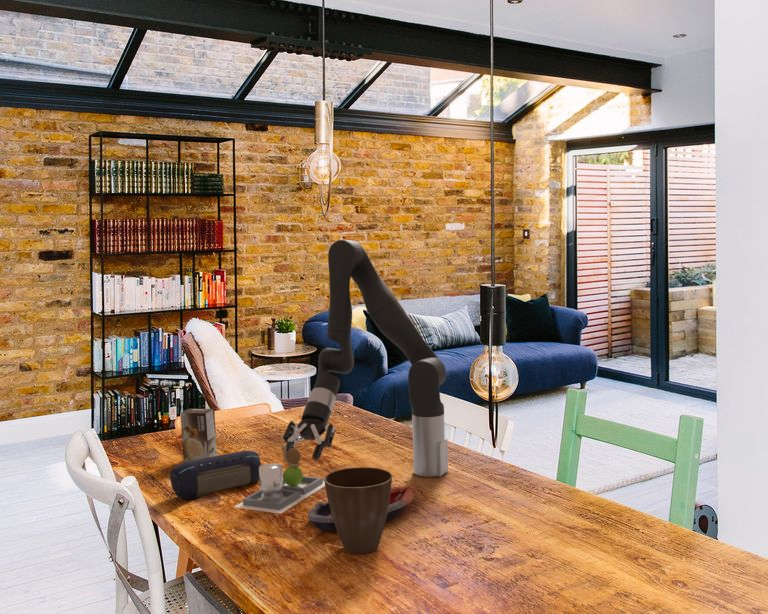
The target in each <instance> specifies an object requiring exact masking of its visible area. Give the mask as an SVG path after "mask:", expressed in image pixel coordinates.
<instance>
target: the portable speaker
mask: <svg viewBox="0 0 768 614" xmlns="http://www.w3.org/2000/svg"><path fill="white" fill-rule="evenodd" d="M261 465H262V463H261V459H260V456H259V453H257V452H256V451H252V450H243V451H242V450H241V451H240V450H239V451H236V452H230V453H224V454H220V455H217V456H213V457H208V458H203V459H197V460H192V461H187V462H184V461H183V462H181V463H178V464H176V465H175V466H173V468H171V470H170V475H169V479H170V485H171V488H172V491H173V492H174V494H175V495H176V496H177V497H178V498H179V499H183V500H191V499H193V500H194V499H197V498H201V497H204V496H206V495H208V494H209V493H214V492H218V491H223V490H228V489H232V488H236V487H242V486H246V485H251V484H255V483H257V482H259V467H260V466H261Z"/></svg>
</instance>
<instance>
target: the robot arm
mask: <svg viewBox="0 0 768 614" xmlns="http://www.w3.org/2000/svg"><path fill="white" fill-rule="evenodd" d="M364 248H365V247H363V245H361V243H359V242H358V241H356V240H354V239H353V240H352V239H339V240H336V241H333V243H332V244H331V245H330V247H329V248H328V253H327V254H328V255H327V262H328V275H329V279H328V281H329V306H328V307H329V308H328V318H327V319H328V321H327V328H326V329H327V330H326V337H327V339H328V340H329V341H331V342H334V343H337V344H338V345H339V347H340V349H339V348H334V347H332V348H331V347H326V348H323V349H322V350H321V351H320V353H319V355H318V368H317V369H318V370H317V374H316V380H315V382H314V383H315V384H314V386H313V388H312V390H311V392H310V395H309V396H308V399H307V402H306V404H305V407H304V409H303V412H302V414H301V419H300V421H299V423H296V422H294V421H293V420H290V421H289V423H288V425H287V427H286V430H285V432H284V434H283V436H282V440H284V443H286V452H288V450H289V449H291V448H295V446H296V445H297V444H298V443H301V442H302V441H304V440H306V441H307V440H311V441H315V440H316V442H317V444H316V445H315V448H314V450H313V453H312V455H311V456H312V459H313V460H314V461H318V460H319V459H320V458H321V456H322V454H323V453H322V452H323V450H324V449H325V448H331V447H332V444H333V439H334V437H335V434H336V428H335V426H334V425H333V424H332V423H330V424H328V423H329V421H330V418H331V415H332V412H333V410H334V406H335V403H336V402H335V401H336V397H337V394H338V392H339V390H340V387H341V381H340V379H339V377H338V376H336V375H334V374H333V373H337V374H343V375H344V374H345V375H348V374H349V373H351V372H352V370H353V369H354V366H355V357H354V351H353V346H352V338H351V334H352V326H353V325H352V324H353V307H352V299H351V293H350V292H351V291H350V287H351V278H352V281H354V283H355V284H356V286H357V287H358V289H359V291H360V293H361V297H362V299H363V303H364V305H365V309H366V311H367V313H368V316H369V317H370V318H371V320H372V322H373V324H375V326H376V328H378V330H379V331H380V332H381V333H382V334H383V336H385V338H387V339H388V340H389V341H390V342H391V343H393V344H394V345H395V346H396V347H397V348H399V350H401V352H403V354H404V355H405V357H406V358H407V360H408V361H409V364H410V365H411V366H410V367H409V370H408V373H407V374H408V376H407V379H408V380H407V382H408V383H407V384H408V385H407V386H408V388H407V389H408V399H409V405H410V408H411V421H412V424H411V425H412V458H413V474H415V475H416V476H420V477H424V478H427V477H428V478H430V477H442V476H443V475H444V474H446V473H447V472H448V471H449V461H448V460H449V458H448V457H449V456H448V454H449V452H448V439H447V438H446V434H445V433H446V431H445V429H446V428H445V406H444V403H443V402H442V400H441V391H440V389H441V388H440V387H441V385H443V383H444V382H445V381H446V378H447V370H446V367H445V364H444V362H443V361H442V360H441V359H440V357H439V356H438V355H437V354H436V353H435V352H434V350H432V348H431V347H430V345H428V343H427V342H426V341H425V340H424V338H423V337H422V335H421V334H420V332H419V331H418V329H417V328H416V325H415V324H414V322H413V321H412V320H411V319H410V317H409V315H408V313H406V311H405V309H404V307H402V305H401V303H400V302H399V301H398V299H397V298H396V297H395V295H394V294H393V293H392V291H391V290H390V288H389V287H388V286H387V285H388V284H386V282H384V280H383V279H382V278H381V276H380V275H379V273H378V272H377V270H376V269H375V267H374V264H373V263H372V261H371V259H370V258H369V255H368V254H367V251H366V250H365V249H364ZM324 433H325V437H324V440H323V438H322V435H323V434H324Z"/></svg>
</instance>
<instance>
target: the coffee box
mask: <svg viewBox="0 0 768 614" xmlns="http://www.w3.org/2000/svg"><path fill="white" fill-rule="evenodd" d="M215 419H216V415H215V408H188V409H185V410H183V411H182V412H180V425H181V426H180V428H181V443H182V445H181V446H182V455H183V456H182V457H183V459H182V460H183V462H187V461H192V460H197V459H203V458H208V457H213V456H218V450H217V449H218V447H217V431H216V420H215Z"/></svg>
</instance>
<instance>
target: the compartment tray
mask: <svg viewBox="0 0 768 614" xmlns="http://www.w3.org/2000/svg"><path fill="white" fill-rule="evenodd" d="M324 487H325V482H324V478H323V477H316V476H307V475H303V479H302V481H301V483H300V484H298V485H296V486H289V485H287V484H286V483H285V482H284V480H283V491H284V499H283V500H282V501H280V502H272V501H264V500H260V489H259V490H257V491H255V492H253V493H251V494H249V495H247V496H246V497H244V498H242V501H241V502H240V503H238V504H236V505H234V506H233V508H237V509H238V508H239V509H244V510H253V511H258V512H265V513H267V512H268V513H274V514H283V513H284V512H286V511H288V510H289V509H291V508H292V507H294V506H296V505H298V503H300V502H302V501H303V500H305V499H306V498H308V497H310V496H311V495H313V494H315V493H316V492H318V491H319V490H321V489H323V488H324Z"/></svg>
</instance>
